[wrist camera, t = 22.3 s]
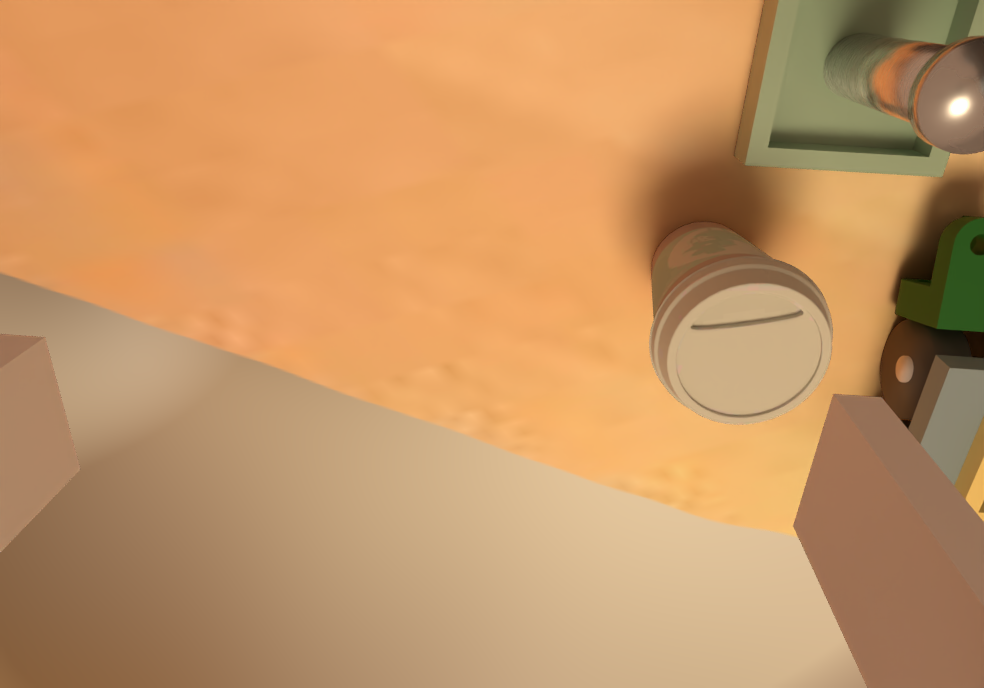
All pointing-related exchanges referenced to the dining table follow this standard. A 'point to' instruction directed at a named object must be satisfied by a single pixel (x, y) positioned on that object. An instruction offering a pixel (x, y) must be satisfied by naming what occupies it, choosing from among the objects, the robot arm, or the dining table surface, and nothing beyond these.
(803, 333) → the coffee cup
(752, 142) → the tray
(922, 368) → the toy cart
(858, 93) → the pin
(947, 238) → the clamp
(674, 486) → the dining table surface
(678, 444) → the dining table surface
